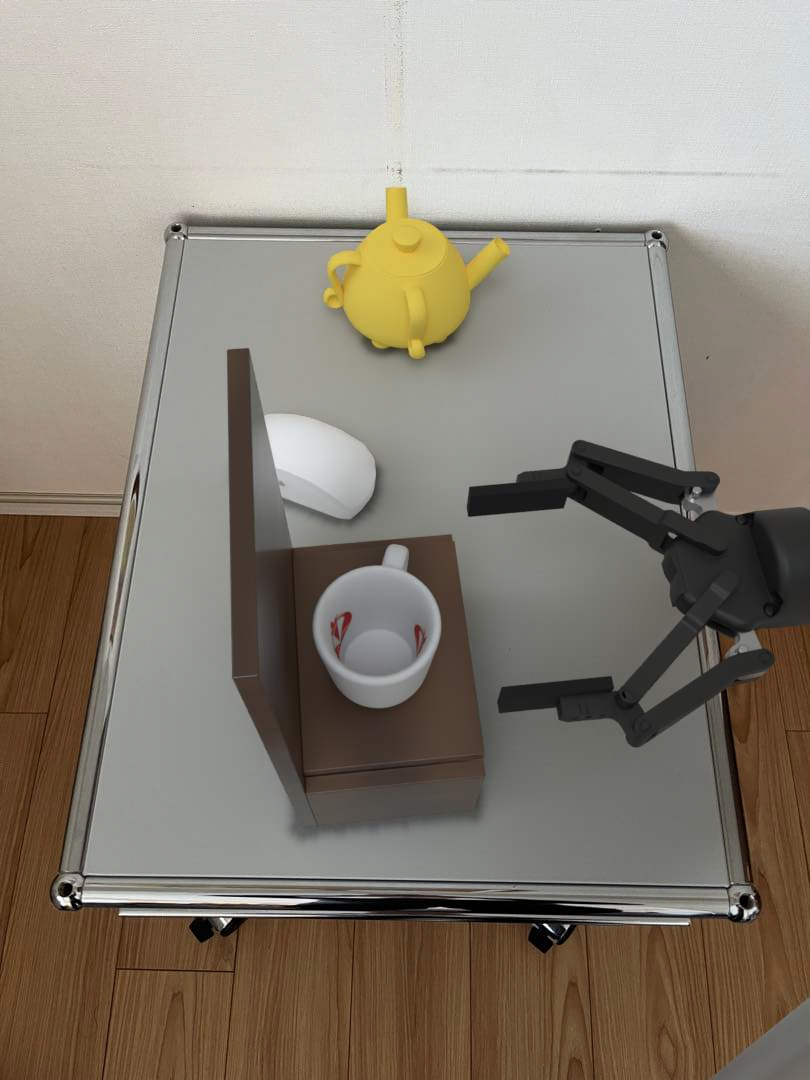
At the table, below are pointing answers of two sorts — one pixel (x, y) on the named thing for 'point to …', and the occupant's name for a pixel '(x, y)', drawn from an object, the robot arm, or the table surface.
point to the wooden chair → (301, 676)
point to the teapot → (407, 280)
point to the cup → (377, 631)
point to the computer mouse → (320, 465)
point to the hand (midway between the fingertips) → (482, 596)
